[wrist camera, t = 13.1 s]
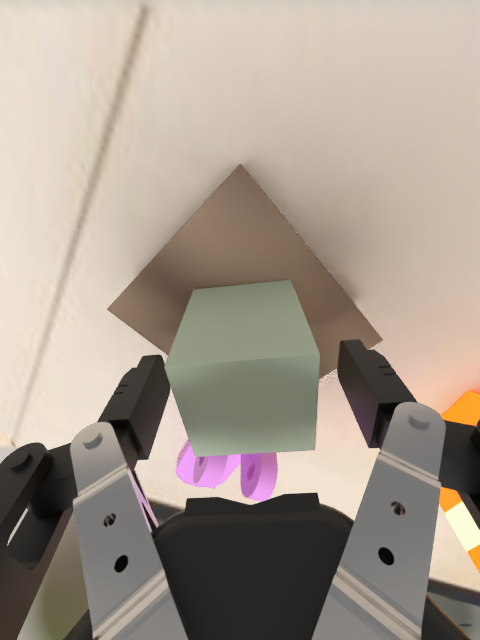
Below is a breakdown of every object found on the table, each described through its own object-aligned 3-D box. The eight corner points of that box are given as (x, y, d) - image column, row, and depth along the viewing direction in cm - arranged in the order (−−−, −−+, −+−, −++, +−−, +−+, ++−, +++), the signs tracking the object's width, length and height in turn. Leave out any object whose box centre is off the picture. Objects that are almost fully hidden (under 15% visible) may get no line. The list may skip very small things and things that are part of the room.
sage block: (290, 279, 13) (320, 354, 8) (292, 356, 16) (314, 449, 11) (193, 289, 14) (164, 366, 9) (210, 363, 16) (194, 456, 11)
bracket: (217, 391, 24) (208, 467, 18) (271, 410, 25) (279, 487, 19) (172, 466, 30) (154, 542, 24) (217, 479, 31) (211, 554, 25)
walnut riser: (241, 164, 15) (240, 164, 11) (352, 301, 20) (382, 340, 15) (138, 276, 19) (106, 309, 15) (251, 371, 23) (253, 419, 19)
